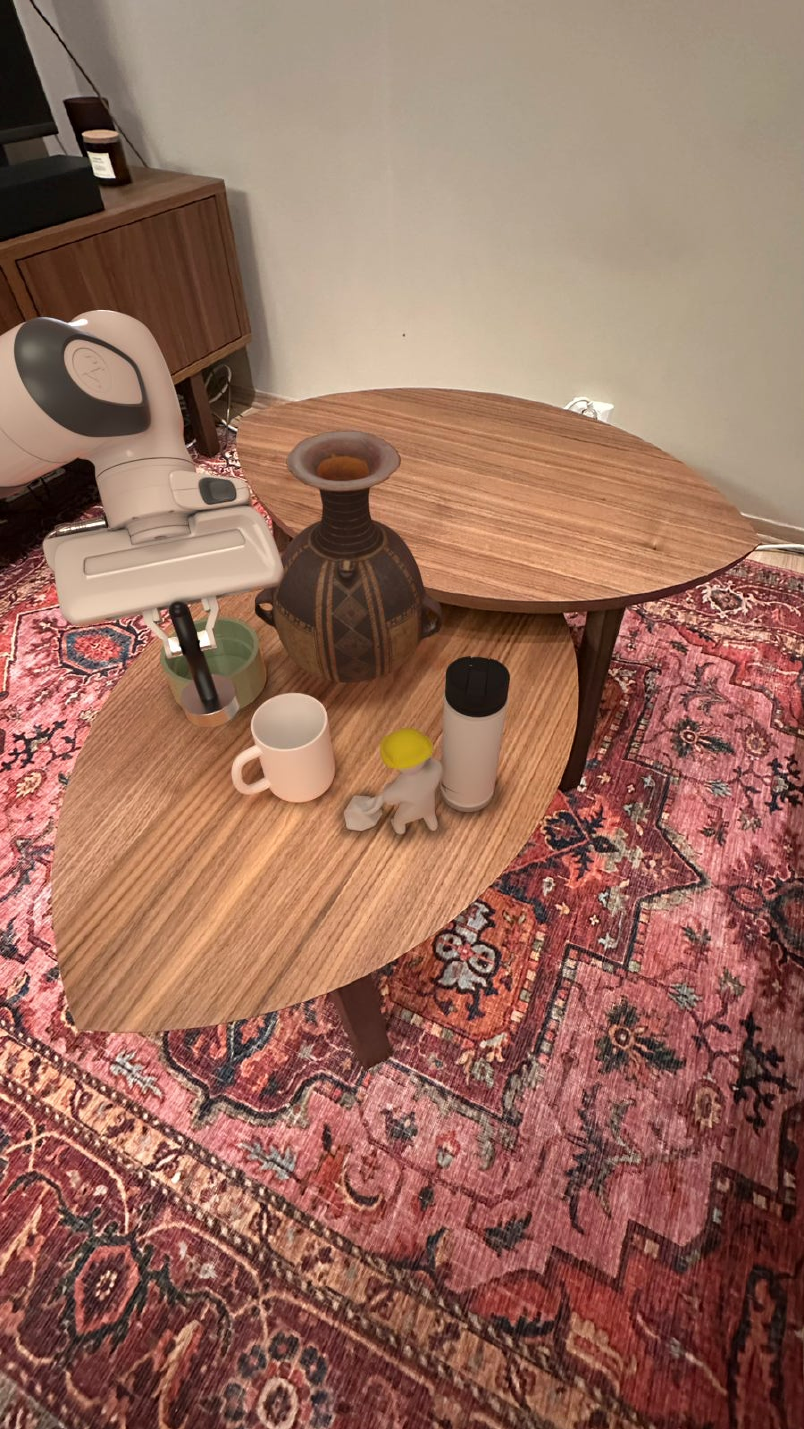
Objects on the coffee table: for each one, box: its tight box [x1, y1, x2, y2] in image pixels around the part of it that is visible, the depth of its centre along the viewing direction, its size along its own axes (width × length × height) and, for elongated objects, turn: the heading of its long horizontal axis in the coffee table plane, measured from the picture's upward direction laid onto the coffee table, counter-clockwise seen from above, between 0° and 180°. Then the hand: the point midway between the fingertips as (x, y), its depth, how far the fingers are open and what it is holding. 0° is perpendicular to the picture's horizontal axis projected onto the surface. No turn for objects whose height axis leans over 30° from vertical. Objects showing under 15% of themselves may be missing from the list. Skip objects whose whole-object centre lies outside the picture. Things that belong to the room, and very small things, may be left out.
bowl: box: [159, 616, 268, 711], centre depth 89 cm, size 12×12×6 cm
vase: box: [254, 429, 443, 684], centre depth 83 cm, size 23×19×30 cm
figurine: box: [343, 727, 443, 835], centre depth 72 cm, size 10×9×15 cm
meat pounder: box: [168, 601, 240, 729], centre depth 66 cm, size 6×6×14 cm
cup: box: [231, 692, 336, 803], centre depth 77 cm, size 8×12×10 cm
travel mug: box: [439, 655, 511, 813], centre depth 72 cm, size 6×7×20 cm
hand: (193, 653), depth 65 cm, fingers closed on meat pounder
